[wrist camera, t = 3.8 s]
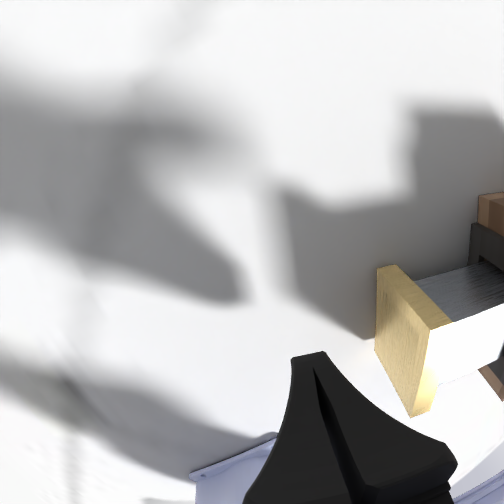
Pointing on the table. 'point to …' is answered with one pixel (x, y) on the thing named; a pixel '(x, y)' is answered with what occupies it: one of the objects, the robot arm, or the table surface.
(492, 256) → the collar block
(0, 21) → the table surface
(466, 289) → the peg
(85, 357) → the table surface
